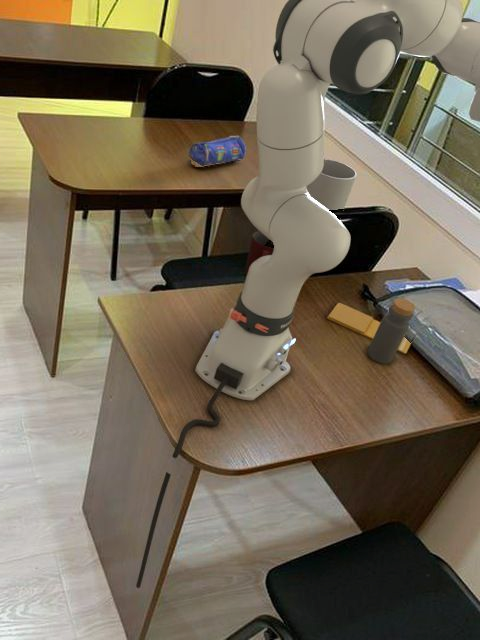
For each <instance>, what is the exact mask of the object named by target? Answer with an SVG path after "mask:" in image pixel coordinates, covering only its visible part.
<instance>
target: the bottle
mask: <svg viewBox="0 0 480 640" xmlns="http://www.w3.org/2000/svg"><path fill="white" fill-rule="evenodd" d="M415 310H416V305H415V304H414V303H413V302H412V301H410V300H409V299H406V298H403V297H397V298H395V299H393V303H392V304H391V305H390V306H389V308H388V312H386V313H384V315H383V316H382V318H381V320H380V322H381V323H380V325H379V327H378V329H377V331H376V333H375V335H374V338H373V339H371V342H370V343H369V345H368V349H367V355H368V356H369V358H370V359H372V360H373V361H375V362H376V363H379V364H390V363H391V362H392V361H393V360H394V357H395V355H396V353H397V352H398V351H397V350H398V348H399V346H400V344H401V342H402V340H403V338H404V336H405V334H407V332H408V330H409V328H410V321H411V320H412V318H413V316H414V311H415Z"/></svg>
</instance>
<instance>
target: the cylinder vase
mask: <svg viewBox="0 0 480 640" xmlns="http://www.w3.org/2000/svg"><path fill="white" fill-rule="evenodd" d="M357 173H358V172H357V171H356V170H355V169H354V168H352V166H350V165H348V164H346V163H344V162H341V161H339V160H335V159H330V158H324V166H323V169H322V171H321V173H320V175H319V176H318V177H317V178H316V179H315V180H314V181H313V182H312V183H311V184H309V185H307V186H306V188H307V191H308V193H309V194H310V196H311V197H312V198H313V199H315V200H316V201H317V202H319V203H320V204H321V205H323V206H324V207H325V208H327V209H328V210H338V209H344V210H345V208H346V205H347V202H348V199H349V197H350V194H351V192H352V188H353V187H354V184H355V181H356V179H357V178H356V177H357V176H358V175H357Z"/></svg>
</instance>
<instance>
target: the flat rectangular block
mask: <svg viewBox="0 0 480 640" xmlns="http://www.w3.org/2000/svg"><path fill="white" fill-rule="evenodd" d="M326 319H327V320H329V321H332V322H334V323H336V324H338V325H340V326H343V327H344V328H347V329H349V330H351V331H353V332H355V333H358V334H359V335H362V336H364V337H367V338H369V339H371V340H373V338H374V335H375V333H376V331H377V329H378V327H379V325H380V323H381V321H378V320H376V319H374V317H373V316H371V315H369V314H366V313H364V312H362V311H359V310H357V309H355V308H353V307H351V306H348V305H346V304H344V303H341V302H338V303H336V305H335V306H334V307H333V309H332V310H331V312H330V313H329V314H328V316H327V318H326ZM411 344H412V342H411V343H410V342H409V341H408V340H407V339H406V338H405V337H404V338H403V340H402V342H401V344H400V346H399V348H398V350H397V352H399V353H401V354H403V355H406V354H407V352H408V350H409V349H410V347H411Z"/></svg>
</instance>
